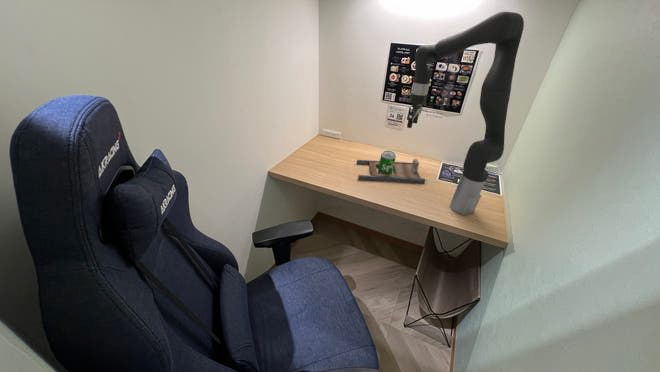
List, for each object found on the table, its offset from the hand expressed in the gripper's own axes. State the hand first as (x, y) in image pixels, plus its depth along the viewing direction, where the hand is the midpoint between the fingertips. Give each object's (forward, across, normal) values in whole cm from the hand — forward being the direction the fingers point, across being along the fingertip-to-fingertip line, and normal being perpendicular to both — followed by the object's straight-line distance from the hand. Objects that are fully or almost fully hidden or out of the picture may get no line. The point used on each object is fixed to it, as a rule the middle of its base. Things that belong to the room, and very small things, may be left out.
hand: (411, 125), depth 132 cm
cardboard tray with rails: (+25, -10, +2) cm, 27 cm away
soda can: (+25, -12, +6) cm, 28 cm away
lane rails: (+25, -11, +4) cm, 27 cm away
